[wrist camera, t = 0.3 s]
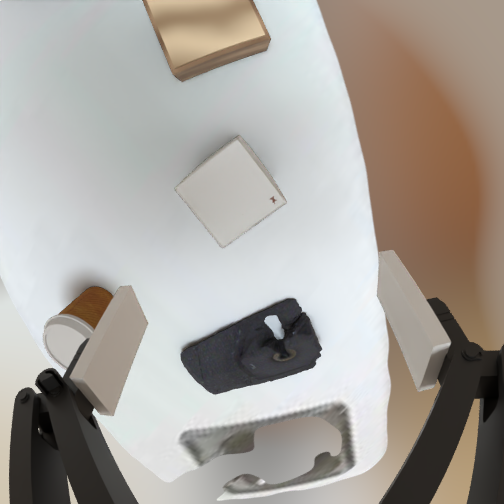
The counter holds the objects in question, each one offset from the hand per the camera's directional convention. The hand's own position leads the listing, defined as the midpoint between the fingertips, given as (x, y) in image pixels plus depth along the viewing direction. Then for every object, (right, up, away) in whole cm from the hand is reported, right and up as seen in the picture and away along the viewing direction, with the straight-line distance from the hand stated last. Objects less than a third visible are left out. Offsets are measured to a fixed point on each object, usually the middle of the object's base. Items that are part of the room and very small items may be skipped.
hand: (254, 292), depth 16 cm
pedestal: (-5, +29, +15) cm, 33 cm away
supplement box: (-2, +12, +23) cm, 26 cm away
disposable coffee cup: (-24, -6, +29) cm, 38 cm away
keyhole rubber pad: (0, -14, +34) cm, 37 cm away
